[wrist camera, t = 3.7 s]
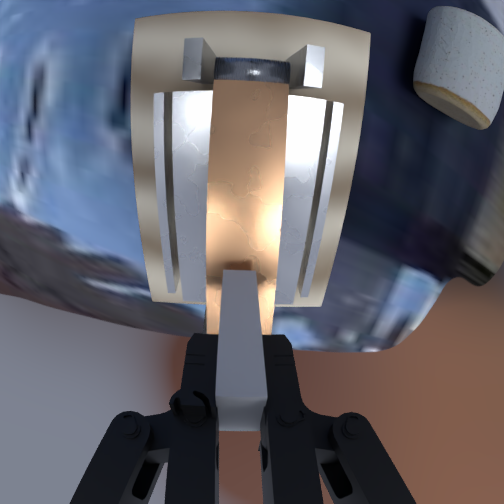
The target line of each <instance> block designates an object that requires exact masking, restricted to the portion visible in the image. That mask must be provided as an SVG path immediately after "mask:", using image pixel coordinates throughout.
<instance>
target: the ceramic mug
mask: <svg viewBox="0 0 504 504" xmlns="http://www.w3.org/2000/svg"><path fill="white" fill-rule="evenodd" d="M413 87H414V89H415V91H416V93H417V94H418V96H419V97H420V98H422V99H423V100H424V101H426V102H427V103H428V104H430V105H431V106H433V107H435V108H436V109H438V110H440V111H441V112H443V113H445V114H446V115H448V116H450V117H452V118H453V119H455V120H457V121H459V122H461V123H463V124H465V125H467V126H470V127H473V128H476V129H479V130H480V129H485V128H488V127H489V125H490V124H491V123H492V121H493V119H494V117H495V115H496V113H497V111H498V108H499V105H500V101H501V98H502V94H503V91H504V36H503V35H502V34H501V33H500V32H499V31H498V30H497V29H496V28H495V27H494V26H492V25H491V24H490V23H488V22H487V21H485V20H484V19H482V18H481V17H479V16H477V15H475V14H473V13H471V12H468V11H465V10H463V9H459V8H456V7H450V6H439V7H435V8H433V9H431V10H430V11H429V12H428V16H427V21H426V26H425V31H424V35H423V39H422V43H421V47H420V52H419V55H418V58H417V62H416V65H415V69H414V77H413Z"/></svg>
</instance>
